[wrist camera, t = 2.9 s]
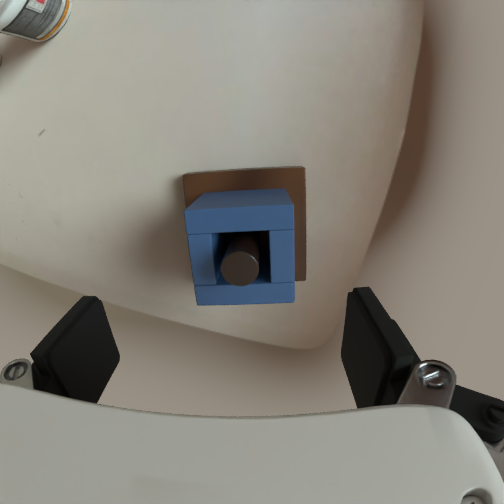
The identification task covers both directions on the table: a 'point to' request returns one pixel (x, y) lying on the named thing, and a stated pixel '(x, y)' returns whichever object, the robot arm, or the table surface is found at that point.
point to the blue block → (238, 220)
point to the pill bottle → (33, 18)
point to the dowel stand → (250, 242)
